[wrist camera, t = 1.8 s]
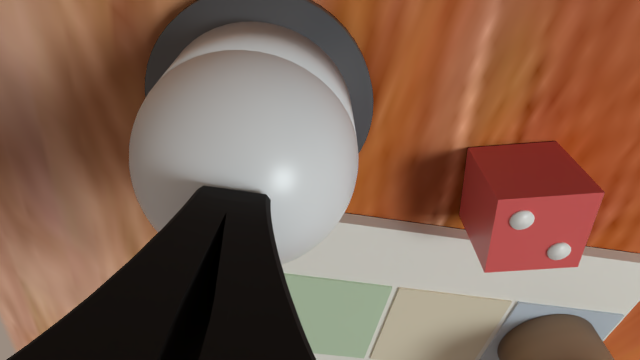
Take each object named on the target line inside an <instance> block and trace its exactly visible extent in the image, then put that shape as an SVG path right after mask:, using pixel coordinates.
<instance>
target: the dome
mask: <svg viewBox="0 0 640 360" xmlns="http://www.w3.org/2000/svg"><path fill="white" fill-rule="evenodd" d="M129 170H130V176H131V181H132V185H133V189H134V192H135V195H136V198H137V200H138V202H139V204H140V206H141V208H142V210H143V212H144V214H145V216H146V217H147V219H148V220H149V222H150V223H151V225H152V226H153V227H154V228H155V229H156V231H157V232H159V231H160V230H161V229H162V228H163V227H164V226H165V225H166V224H167V223H168V222H169V221H170V220H171V219H172V218H173V217H174V216H175V215H176V213H177V212H178V211H179V210H180V209H181V208H182V207H183V206H184V204H185V203H186V202H187V201H188V200H189V199H190V198H191V196H192V195H193V194H194V193H195V191H196V190H197V189H199V188H200V187H202V186H203V185H204V186H211V187H218V188H225V189H232V190H239V191H247V192H254V193H261V194H266V195H267V196H268V197H269V198H270V199H271V219H272V226H273V232H274V237H275V242H276V246H277V250H278V254H279V258H280V261H281V265H282V264H285V263H288V262H290V261H292V260H295V259H297V258H299V257H300V256H302V255H304V254H306V253H307V252H309V251H310V250H311V249H313V248H314V247H315V246H317V245H318V244H319V243H320V242H322V241H323V240H324V239H325V238H326V237H327V236H328V235H329V234H330V232H331V231H332V230H333V229H334V227H335V226H336V225H337V223H338V222H339V221H340V219H341V218H342V216H343V214H344V212H345V210H346V209H347V206H348V204H349V202H350V200H351V197H352V194H353V192H354V188H355V183H356V178H357V173H358V145H357V136H356V130H355V124H354V118H353V112H352V106H351V100H350V96H349V92H348V88H347V85H346V83H345V81H344V78H343V76H342V74H341V73H340V71H339V69H338V68H337V66H336V65H335V63H334V62H333V61H332V60H331V58H330V57H329V56H328V55H327V54H326V53H325V52H324V51H323V50H322V49H321V48H320V47H319V46H318V45H316V44H315V43H314V42H312V41H311V40H310V39H308V38H307V37H305V36H303V35H301V34H299V33H298V32H296V31H293V30H291V29H288V28H286V27H283V26H279V25H275V24H271V23H265V22H256V21H253V22H237V23H230V24H226V25H223V26H220V27H216V28H214V29H212V30H210V31H208V32H206V33H204V34H202V35H201V36H199V37H198V38H196V39H195V40H193V41H192V42H191V43H190V44H189V45H188V46H187V47H186V48H185V49H184V50H183V51H182V52H181V53H180V55H179V56H178V57H177V58H176V59H175V61H174V62H173V63H172V64H171V66H170V67H169V68H168V69H167V70H166V72H165V73H164V74H163V75H162V77H161V78H160V79H159V80H158V82H157V83H156V84H155V85H154V87H153V88H152V89H151V90H150V92H149V93H148V95H147V96H146V98H145V100H144V102H143V103H142V105H141V107H140V109H139V111H138V113H137V116H136V119H135V122H134V125H133V128H132V132H131V137H130V143H129Z"/></svg>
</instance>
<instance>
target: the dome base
mask: <svg viewBox="0 0 640 360" xmlns="http://www.w3.org/2000/svg"><path fill="white" fill-rule="evenodd" d="M253 21H256V22H265V23H271V24H275V25H279V26H283V27H286V28H288V29H291V30H293V31H296V32H298V33H299V34H301V35H303V36H305V37H307V38H308V39H310V40H311V41H312V42H314V43H315V44H316V45H318V46H319V47H320V48H321V49H322V50H323V51H324V52H325V53H326V54H327V55H328V56H329V57H330V58H331V60H332V61H333V62H334V63H335V65H336V66H337V68H338V69H339V71H340V73H341V74H342V76H343V78H344V81H345V83H346V85H347V88H348V92H349V96H350V100H351V106H352V112H353V118H354V124H355V130H356V136H357V145H358V153H359V152H360V150H361V148H362V146H363V144H364V142H365V140H366V138H367V135H368V132H369V129H370V125H371V120H372V115H373V92H372V85H371V81H370V76H369V72H368V69H367V66H366V63H365V60H364V58H363V55H362V53H361V51H360V49H359V47H358V45H357V43H356V42H355V40H354V38H353V37H352V36H351V34H350V33H349V32H348V30H347V29H346V28H345V27H344V26H343V25H342V24H341V23H340V22H339V20H338V19H337V18H336V17H335V16H333V15H332V14H331V13H330V12H328V11H327V10H326V9H324V8H323V7H322V6H320V5H319V4H317V3H315V2H313V1H312V0H197V1H195V2H194V3H192V4H191V5H190V6H188V7H187V8H185V9H184V10H183V11H182V12H181V13H180V14H179V15H178V16H177V17H176V18H175V19H174V20H173V21H172V22H170V23H169V24H168V26H167V27H166V28H165V30H164V31H163V32H162V34H161V35H160V36H159V38H158V40H157V42H156V44H155V46H154V48H153V50H152V52H151V55H150V58H149V61H148V64H147V70H146V76H145V97H146V96H147V95H148V93H149V92H150V90H151V89H152V88H153V87H154V85H155V84H156V83H157V82H158V80H159V79H160V78H161V77H162V75H163V74H164V73H165V72H166V70H167V69H168V68H169V67H170V66H171V64H172V63H173V62H174V61H175V59H176V58H177V57H178V56H179V55H180V53H181V52H182V51H183V50H184V49H185V48H186V47H187V46H188V45H189V44H190V43H191V42H192V41H193V40H195V39H196V38H198V37H199V36H201V35H202V34H204V33H206V32H208V31H210V30H212V29H214V28H216V27H220V26H223V25H226V24H230V23H237V22H253Z"/></svg>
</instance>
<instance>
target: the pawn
mask: <svg viewBox="0 0 640 360" xmlns="http://www.w3.org/2000/svg"><path fill="white" fill-rule="evenodd" d="M497 354H498V357H499V360H614V359H613V357H612V355H611V354H610V352H609V351H608V349H607V348H606V346H605V344H604V343H603V341H602V340H601V338H600V336H599V335H598V333H597V332H596V330H595V329H594V327H593V326H592V324H591V323H590V322H589V321H587V320H586V319H584V318H582V317H579V316H575V315H569V314H553V315H546V316H541V317H538V318H534V319H531V320H529V321H526V322H524V323H522V324H520V325H518V326H516V327H515V328H513V329H512V330H511V331H509V332H508V333H507V334H506V335H505V336H504V337H503V338H502V340H501V341H500V343H499V346H498V350H497Z"/></svg>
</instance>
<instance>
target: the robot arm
mask: <svg viewBox="0 0 640 360" xmlns="http://www.w3.org/2000/svg"><path fill="white" fill-rule="evenodd" d="M7 360H316V358H315V356H314V354H313V351H312V349H311V347H310V344H309V342H308V340H307V337H306V335H305V332H304V330H303V327H302V325H301V322H300V319H299V317H298V314H297V311H296V308H295V306H294V303H293V300H292V297H291V294H290V291H289V288H288V285H287V282H286V279H285V275H284V272H283V268H282V265H281V261H280V258H279V254H278V250H277V246H276V242H275V237H274V232H273V226H272V219H271V199H270V198H269V197H268V196H267V195H266V194H261V193H254V192H247V191H239V190H232V189H225V188H218V187H211V186H204V185H203V186H202V187H200V188H199V189H197V190H196V191H195V193H194V194H193V195H192V196H191V198H190V199H189V200H188V201H187V202H186V203H185V204H184V206H183V207H182V208H181V209H180V210H179V211H178V212H177V213H176V215H175V216H174V217H173V218H172V219H171V220H170V221H169V222H168V223H167V224H166V225H165V226H164V227H163V228H162V229H161V230H160V231H159V232H158V233H157V234H156V235H155V236H154V237H153V238H152V239H151V240H150V241H149V242H148V243H147V244H146V245H145V246H144V247H143V248H142V249H141V250H140V251H139V252H138V253H137V254H136V255H135V256H134V257H133V258H132V259H131V260H130V261H129V262H128V263H126V264H125V265H124V266H123V267H122V268H121V269H120V270H119V271H117V272H116V273H115V274H114V275H113V276H112V277H111V278H109V279H108V280H107V281H106V282H105V283H104V284H103V285H102V286H100V287H99V288H98V289H97V290H96V291H95V292H94V293H93V294H91V295H90V296H89V297H88V298H87V299H85V300H84V301H83V302H82V303H80V304H79V305H78V306H77V307H76V308H74V309H73V310H72V311H71V312H69V313H68V314H67V315H66V316H64V317H63V318H62V319H61V320H59V321H58V322H57V323H56V324H54V325H53V326H52V327H50V328H49V329H48V330H46V331H45V332H44V333H42V334H41V335H40V336H38V337H37V338H36V339H35V340H33V341H32V342H31V343H29V344H28V345H27V346H25V347H24V348H22V349H21V350H20V351H18V352H17V353H15V354H14V355H13V356H11V357H10V358H8V359H7Z"/></svg>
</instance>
